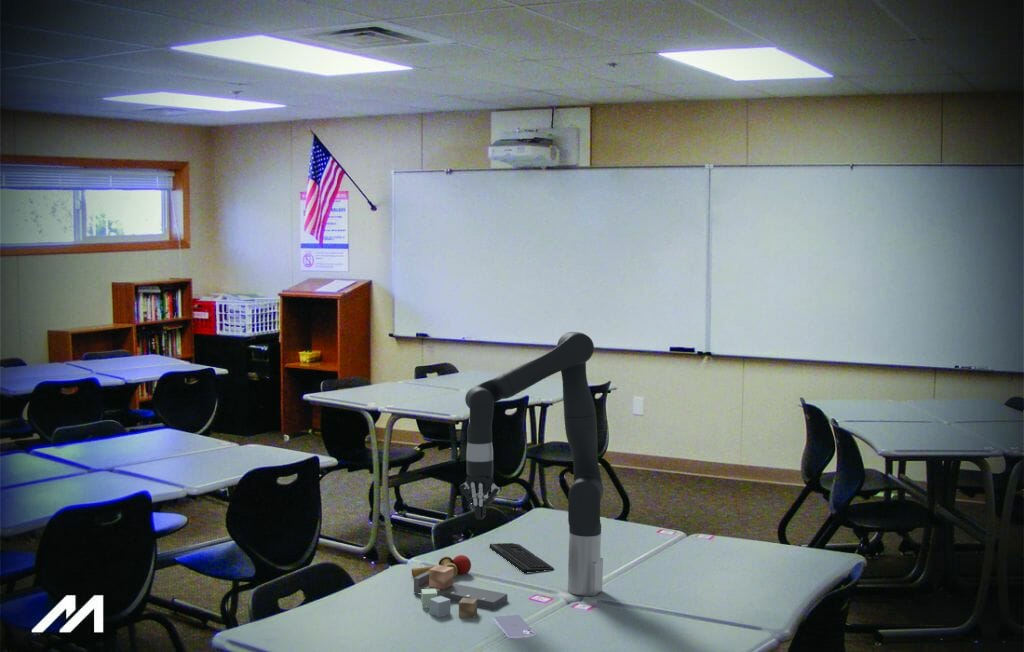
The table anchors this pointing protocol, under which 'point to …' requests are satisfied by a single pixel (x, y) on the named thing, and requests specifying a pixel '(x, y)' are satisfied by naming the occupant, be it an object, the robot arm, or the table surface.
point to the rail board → (462, 592)
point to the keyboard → (520, 557)
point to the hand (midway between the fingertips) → (480, 518)
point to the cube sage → (427, 596)
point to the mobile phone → (514, 626)
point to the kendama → (458, 563)
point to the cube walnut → (467, 607)
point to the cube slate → (439, 606)
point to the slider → (441, 577)
